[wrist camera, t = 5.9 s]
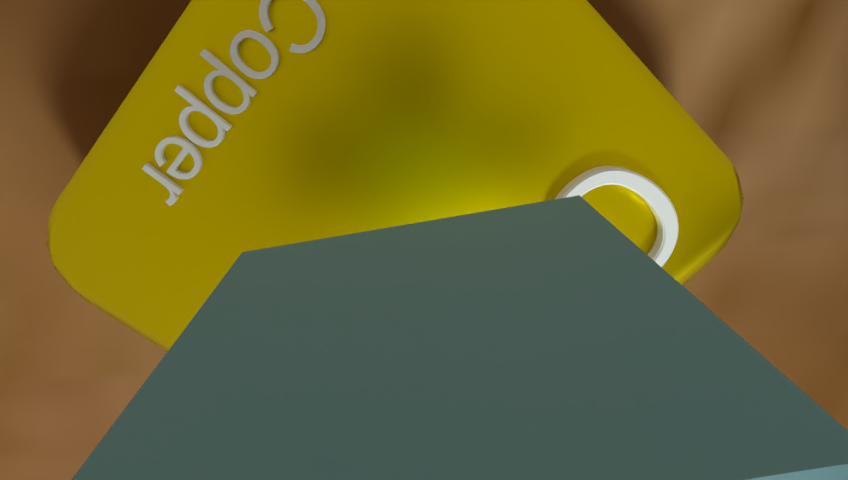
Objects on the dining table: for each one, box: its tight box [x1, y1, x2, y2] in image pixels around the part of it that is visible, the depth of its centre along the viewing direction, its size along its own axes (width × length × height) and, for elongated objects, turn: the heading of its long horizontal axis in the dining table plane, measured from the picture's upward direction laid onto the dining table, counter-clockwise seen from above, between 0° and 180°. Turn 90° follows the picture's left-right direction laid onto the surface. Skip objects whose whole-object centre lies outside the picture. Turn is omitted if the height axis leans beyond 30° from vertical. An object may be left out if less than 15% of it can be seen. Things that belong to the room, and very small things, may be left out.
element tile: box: [46, 0, 744, 352], centre depth 16 cm, size 15×15×5 cm
